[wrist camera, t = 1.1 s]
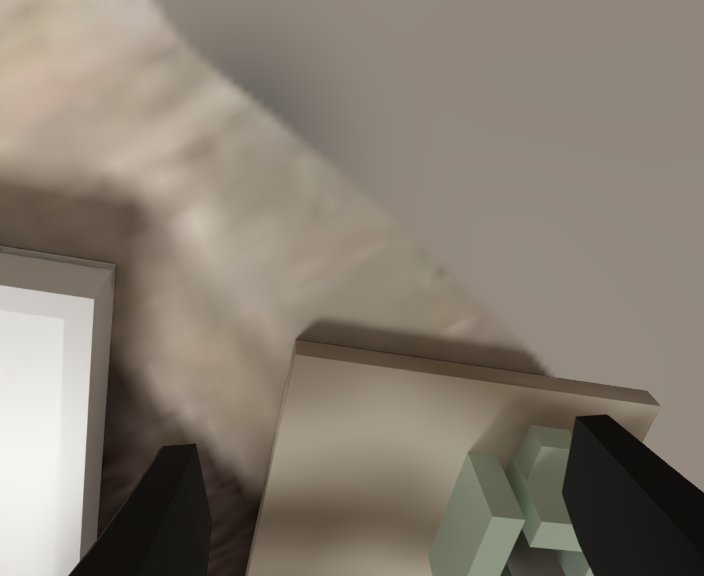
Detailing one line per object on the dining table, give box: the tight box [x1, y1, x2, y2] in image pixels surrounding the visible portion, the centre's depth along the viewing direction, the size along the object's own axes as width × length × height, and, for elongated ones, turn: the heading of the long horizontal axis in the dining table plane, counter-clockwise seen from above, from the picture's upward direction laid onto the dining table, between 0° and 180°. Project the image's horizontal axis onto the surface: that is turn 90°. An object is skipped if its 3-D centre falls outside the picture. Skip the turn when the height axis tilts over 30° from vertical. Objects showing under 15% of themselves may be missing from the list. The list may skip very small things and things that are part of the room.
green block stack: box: [428, 425, 594, 576], centre depth 23 cm, size 7×6×3 cm
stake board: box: [245, 340, 661, 576], centre depth 24 cm, size 16×14×5 cm
